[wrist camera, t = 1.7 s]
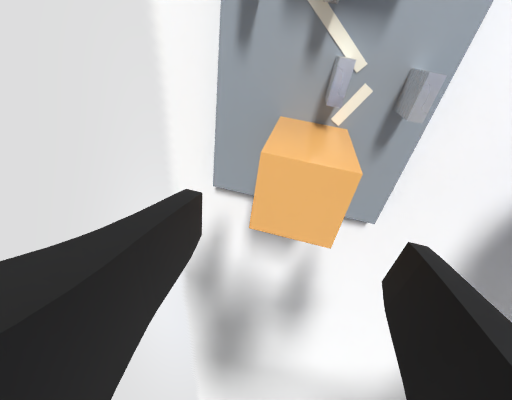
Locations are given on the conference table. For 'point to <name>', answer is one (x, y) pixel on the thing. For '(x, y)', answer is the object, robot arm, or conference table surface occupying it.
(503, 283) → the conference table surface
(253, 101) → the board
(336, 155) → the block
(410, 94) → the clips
